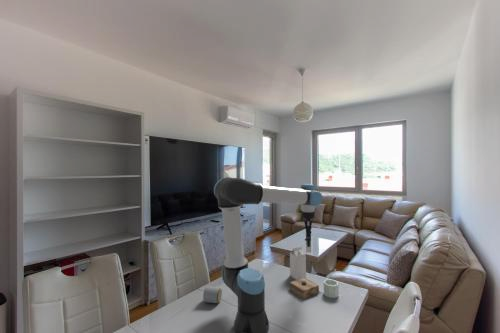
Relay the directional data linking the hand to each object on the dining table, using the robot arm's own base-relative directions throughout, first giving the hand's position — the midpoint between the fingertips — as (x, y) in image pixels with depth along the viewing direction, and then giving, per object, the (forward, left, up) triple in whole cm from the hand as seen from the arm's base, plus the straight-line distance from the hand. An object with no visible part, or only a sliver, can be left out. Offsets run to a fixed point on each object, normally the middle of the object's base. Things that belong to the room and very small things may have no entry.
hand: (308, 248), depth 138 cm
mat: (-6, -2, -23) cm, 23 cm away
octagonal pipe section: (+4, -12, -23) cm, 26 cm away
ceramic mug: (-51, +17, -23) cm, 59 cm away
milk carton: (+3, +13, -23) cm, 27 cm away
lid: (-6, -2, -22) cm, 23 cm away
